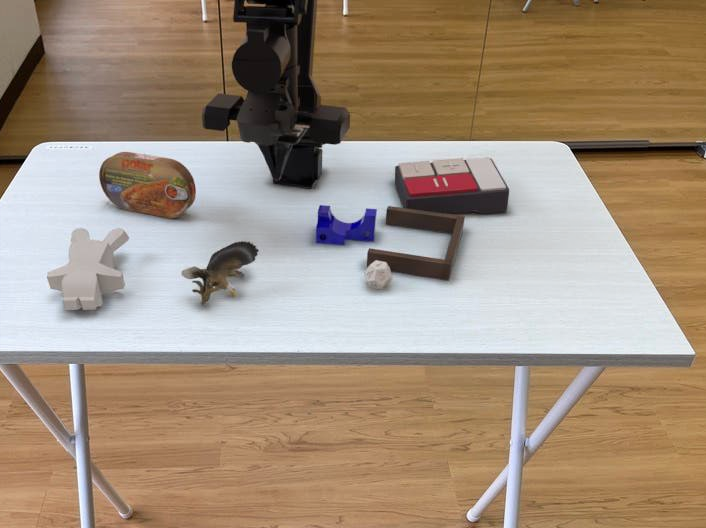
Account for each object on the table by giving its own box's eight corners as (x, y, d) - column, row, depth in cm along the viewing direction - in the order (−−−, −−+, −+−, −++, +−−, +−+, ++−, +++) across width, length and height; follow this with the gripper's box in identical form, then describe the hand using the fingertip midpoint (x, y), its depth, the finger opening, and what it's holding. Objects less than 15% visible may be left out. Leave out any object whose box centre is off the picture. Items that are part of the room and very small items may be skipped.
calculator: (394, 160, 119) (491, 152, 119) (393, 186, 122) (488, 178, 122) (406, 194, 111) (511, 185, 111) (405, 221, 114) (507, 212, 114)
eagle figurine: (241, 310, 95) (272, 262, 100) (204, 266, 91) (238, 219, 96) (201, 321, 100) (233, 275, 105) (165, 280, 97) (200, 235, 102)
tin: (103, 205, 118) (93, 153, 112) (114, 196, 120) (104, 144, 114) (191, 223, 113) (185, 169, 108) (201, 213, 115) (196, 160, 110)
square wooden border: (366, 267, 104) (367, 251, 102) (386, 221, 113) (388, 205, 111) (448, 280, 101) (451, 264, 99) (462, 231, 110) (465, 216, 109)
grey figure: (35, 290, 94) (61, 215, 104) (46, 321, 97) (70, 246, 107) (113, 290, 93) (132, 215, 103) (121, 321, 97) (138, 246, 107)
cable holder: (315, 242, 109) (316, 217, 106) (319, 230, 111) (319, 205, 109) (372, 247, 108) (374, 221, 105) (375, 234, 110) (376, 209, 107)
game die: (397, 286, 100) (399, 266, 98) (374, 295, 99) (375, 275, 97) (380, 274, 103) (382, 254, 101) (357, 282, 101) (359, 263, 99)
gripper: (179, 78, 93) (191, 196, 103) (329, 94, 88) (327, 216, 99) (213, 48, 101) (222, 160, 111) (353, 61, 96) (348, 177, 107)
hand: (277, 178), depth 107 cm, fingers closed
